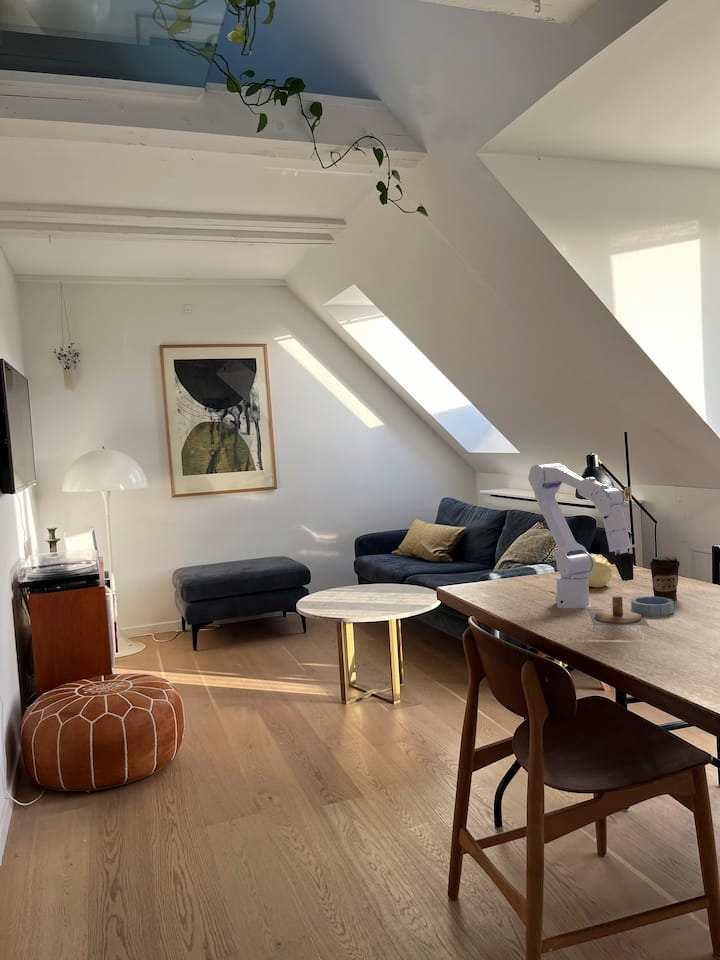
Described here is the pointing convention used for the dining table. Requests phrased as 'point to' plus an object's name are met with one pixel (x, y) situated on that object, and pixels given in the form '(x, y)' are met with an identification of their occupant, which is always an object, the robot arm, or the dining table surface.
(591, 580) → the sculpture
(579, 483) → the robot arm
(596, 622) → the plate
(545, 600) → the dining table surface
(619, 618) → the lid
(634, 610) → the dish
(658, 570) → the coffee cup
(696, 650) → the dining table surface
